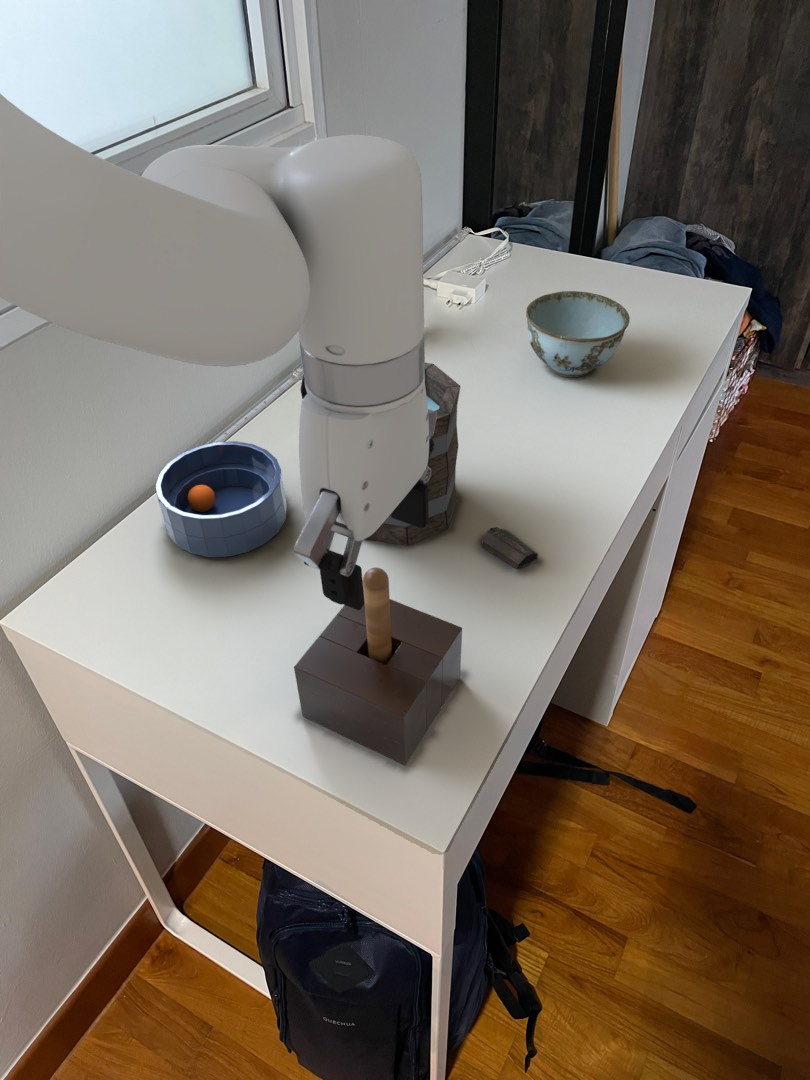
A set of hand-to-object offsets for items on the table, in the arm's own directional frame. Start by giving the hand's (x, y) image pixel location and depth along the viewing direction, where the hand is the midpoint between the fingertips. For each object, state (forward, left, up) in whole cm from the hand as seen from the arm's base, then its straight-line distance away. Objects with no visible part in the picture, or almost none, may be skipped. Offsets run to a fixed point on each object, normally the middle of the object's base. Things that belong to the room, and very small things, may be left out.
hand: (378, 559), depth 62 cm
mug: (+8, +27, -17) cm, 33 cm away
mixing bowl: (-9, +29, -17) cm, 35 cm away
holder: (0, 0, -17) cm, 17 cm away
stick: (0, 0, -17) cm, 17 cm away
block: (+18, +13, -17) cm, 28 cm away
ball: (-11, +31, -15) cm, 36 cm away
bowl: (+42, +44, -17) cm, 63 cm away
